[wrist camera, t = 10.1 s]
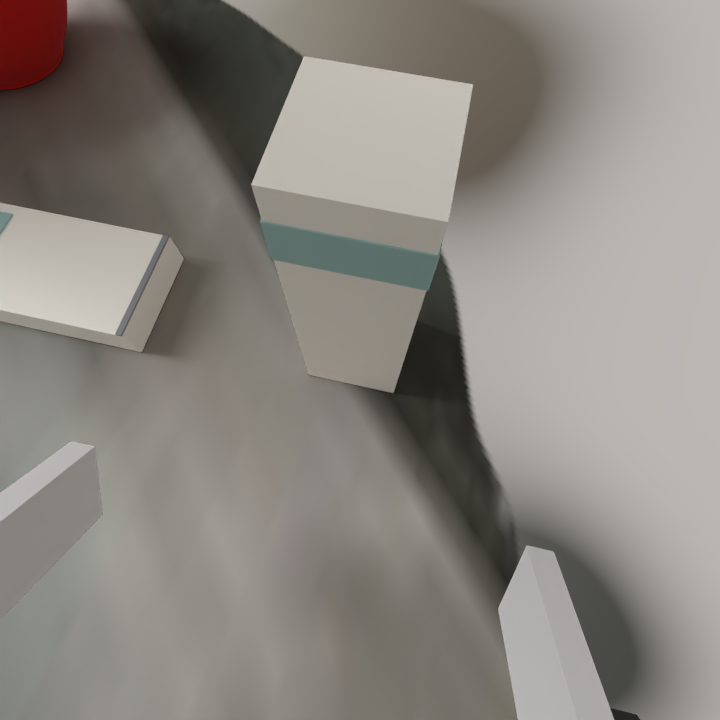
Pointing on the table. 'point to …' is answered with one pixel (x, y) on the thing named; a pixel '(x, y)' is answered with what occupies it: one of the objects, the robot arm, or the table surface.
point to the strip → (83, 276)
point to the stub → (359, 210)
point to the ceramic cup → (30, 40)
